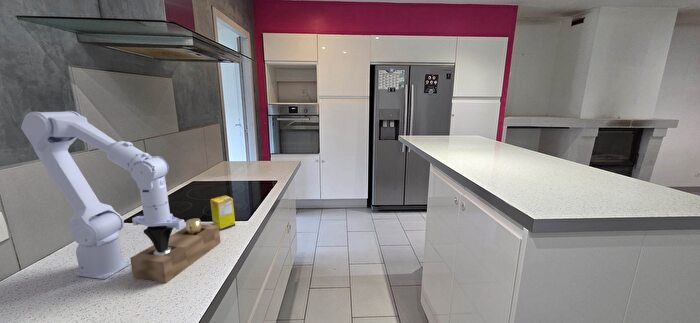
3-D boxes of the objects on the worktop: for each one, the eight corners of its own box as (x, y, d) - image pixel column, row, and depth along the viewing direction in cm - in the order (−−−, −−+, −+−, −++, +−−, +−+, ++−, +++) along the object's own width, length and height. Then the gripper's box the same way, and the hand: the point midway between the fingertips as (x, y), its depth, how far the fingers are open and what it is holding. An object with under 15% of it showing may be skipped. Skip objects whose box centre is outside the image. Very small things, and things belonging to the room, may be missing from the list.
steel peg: (152, 271, 77) (149, 253, 76) (165, 263, 81) (162, 246, 80) (165, 273, 76) (162, 254, 75) (177, 265, 80) (174, 247, 79)
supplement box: (227, 221, 111) (225, 194, 109) (235, 225, 107) (233, 198, 105) (212, 226, 107) (209, 198, 104) (220, 231, 103) (217, 202, 101)
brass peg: (184, 239, 88) (182, 222, 87) (194, 233, 92) (192, 217, 91) (196, 240, 87) (194, 223, 86) (205, 234, 91) (203, 218, 90)
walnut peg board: (133, 278, 75) (130, 257, 74) (194, 240, 96) (192, 223, 95) (166, 283, 73) (162, 261, 72) (220, 242, 94) (218, 225, 93)
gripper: (190, 200, 77) (196, 245, 80) (145, 197, 80) (152, 241, 83) (169, 209, 70) (176, 259, 73) (121, 205, 73) (130, 253, 76)
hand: (162, 250), depth 78 cm, fingers closed, pressing on steel peg
